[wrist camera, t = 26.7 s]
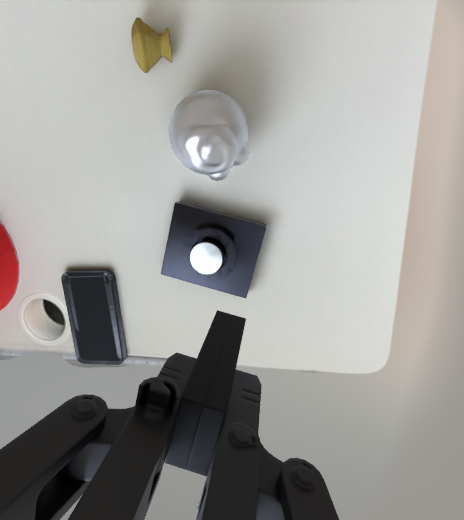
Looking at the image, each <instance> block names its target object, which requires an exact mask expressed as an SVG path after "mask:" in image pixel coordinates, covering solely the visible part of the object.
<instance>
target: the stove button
mask: <svg viewBox="0 0 464 520" xmlns="http://www.w3.org/2000/svg"><path fill="white" fill-rule="evenodd" d="M224 259H225V252H224V249H223V247H222V245H221V244H220V243H219V242H217V241H215V240H213V239H204V240H202V241H200V242H199V243H198V244H197V245H196V246H195V247H194V248H193V249H192V251H191V253H190V261H191V264H192V266H193V268H194V269H195V270H196V271H198V272H200V273H202V274H212V273H215V272H216V271H217V270H218V269H219V268H220V267H221V265H222V263H223V261H224Z"/></svg>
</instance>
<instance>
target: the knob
mask: <svg viewBox="0 0 464 520" xmlns="http://www.w3.org/2000/svg"><path fill="white" fill-rule="evenodd" d="M132 44H133V50H134V55H135V59H136V61H137V64H138V65H139V67H140V68H141V69H142V71H143V72H144V73H147V72H148V71H149V70H150V69H151V68H152V67H153V66H154V65H155V64H156V62H157V61H158V60H159V59H160V58H161V57H162V56H163V57H165V58H166V59H167V60H168V61H169V62H172V53H171V43H170V35H169V29H168V28H166V29H165V31H164V32H163V33H162V34H161V35H159V34H157V33H156V32H155V31H154V30H153V29H152V28H151V27H150V26H148V25H147V24H146V23H144V22H143V21H142V20H141V19H140V18H136V19H135V21H134V24H133V27H132Z"/></svg>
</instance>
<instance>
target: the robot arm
mask: <svg viewBox="0 0 464 520" xmlns="http://www.w3.org/2000/svg"><path fill="white" fill-rule="evenodd" d="M245 321H246V319H245V318H242V317H238V316H235V315H231V314H228V313H224V312H221V311H218V310H217V312H216V315H215V317H214V320H213V322H212V324H211V327H210V329H209V331H208V334H207V336H206V339H205V341H204V343H203V346H202V348H201V350H200V353H199V355H198V358H197V359H196V358H193V357H189V356H186V355H183V354H179V353H175V354H174V355H172V356H171V357H169V358H168V359H167V361H166V363H165V364H164V366H163V368H162V369H161V371H160V374H159V375H158V377H154V378H149V379H147V380H144V381H143V382H142V383H141V384H140V385H139V389H138V395H137V400H136V405H135V406H134V407H131V408H127V409H108V407H107V405H106V402H105V401H104V400H103V399H102V398H100V397H98V396H94V395H81V396H76V397H74V398H72V399H70V400H68V401H66V402H65V403H64V404H63V405H61V406H60V407H58V408H57V409H56V410H54V411H53V412H51V413H50V414H49V415H47V416H46V417H45V418H43V419H42V420H40V421H39V422H38V423H36V424H35V425H34V426H32V427H31V428H30V429H28V430H27V431H25V432H24V433H23V434H21V435H20V436H19V437H17V438H15V439H14V440H13V441H11V442H10V443H9V444H7V445H6V446H4V447H3V448H2V449H0V520H60V519H61V518H62V516H63V515H64V514H65V513H66V512H67V511H68V510H69V509H70V508H71V506H72V505H73V504H74V503H75V502H76V501H77V500H78V499H79V498H80V496H81V495H82V494H83V495H82V497H81V498H80V500H79V502H78V503H77V505H76V507H75V509H74V511H73V512H72V514H71V515H70V517H69V519H68V520H144V519H145V516H146V513H147V511H148V508H149V505H150V503H151V500H152V497H153V495H154V492H155V489H156V487H157V484H158V481H159V479H160V475H161V471H162V467H163V464H164V462H165V463H167V464H170V465H173V466H176V467H179V468H182V469H186V470H189V471H192V472H195V473H198V474H201V475H204V476H207V478H206V482H205V486H204V489H203V492H202V496H201V499H200V502H199V506H198V514H197V518H196V520H339V518H338V515H337V513H336V510H335V508H334V505H333V502H332V500H331V497H330V495H329V492H328V489H327V487H326V484H325V481H324V479H323V477H322V475H321V474H320V472H319V471H318V470H317V469H316V468H315V467H314V466H313V465H312V464H310V463H309V462H307V461H305V460H303V459H299V458H290V459H288V460H287V461H285V462H284V463H283V462H282V461H280V460H278V459H277V458H275V457H274V456H273V455H271V454H270V453H268V451H267V450H266V449H265V448H264V447H263V445H262V444H261V442H260V438H259V436H258V427H259V413H260V398H261V396H260V395H261V383H260V381H259V379H258V377H257V376H256V375H252V374H249V373H245V372H242V371H239V370H236V364H237V359H238V355H239V350H240V345H241V340H242V335H243V330H244V326H245Z"/></svg>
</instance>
